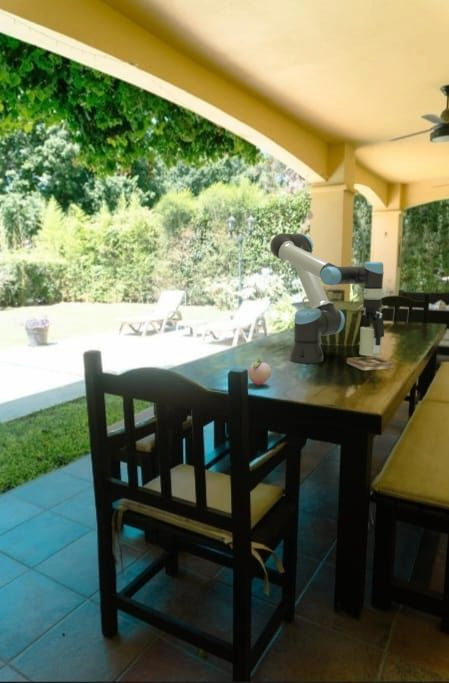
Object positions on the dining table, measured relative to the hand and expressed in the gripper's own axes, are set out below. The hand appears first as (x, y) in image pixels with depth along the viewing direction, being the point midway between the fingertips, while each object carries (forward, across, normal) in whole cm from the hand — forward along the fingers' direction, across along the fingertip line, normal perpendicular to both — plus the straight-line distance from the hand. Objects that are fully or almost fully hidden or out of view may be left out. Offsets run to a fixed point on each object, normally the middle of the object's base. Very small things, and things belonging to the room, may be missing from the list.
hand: (370, 350), depth 196 cm
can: (+2, 0, 0) cm, 2 cm away
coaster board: (+7, 0, 0) cm, 7 cm away
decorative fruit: (+7, +20, -56) cm, 60 cm away
